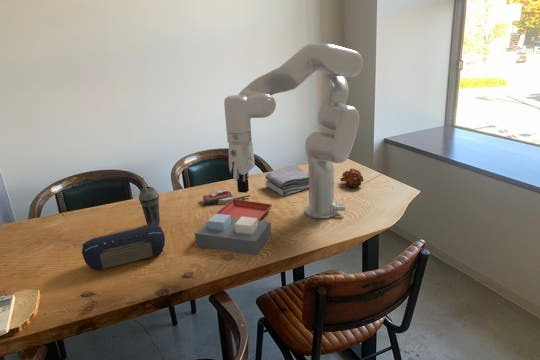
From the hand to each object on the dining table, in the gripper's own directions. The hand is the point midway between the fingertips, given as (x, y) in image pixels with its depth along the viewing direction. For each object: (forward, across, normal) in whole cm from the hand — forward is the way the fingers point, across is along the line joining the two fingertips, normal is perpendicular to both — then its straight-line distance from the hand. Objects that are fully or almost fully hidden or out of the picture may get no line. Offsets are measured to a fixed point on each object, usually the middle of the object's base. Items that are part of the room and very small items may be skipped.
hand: (243, 191), depth 129 cm
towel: (+19, +51, 0) cm, 55 cm away
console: (+19, 0, +5) cm, 19 cm away
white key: (+16, 0, 0) cm, 16 cm away
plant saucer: (+19, +18, +9) cm, 28 cm away
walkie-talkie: (+19, +32, +23) cm, 44 cm away
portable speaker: (+19, -20, +33) cm, 44 cm away
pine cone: (+18, +59, -26) cm, 67 cm away
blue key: (+16, 0, +10) cm, 19 cm away
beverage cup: (+19, +3, +40) cm, 44 cm away
